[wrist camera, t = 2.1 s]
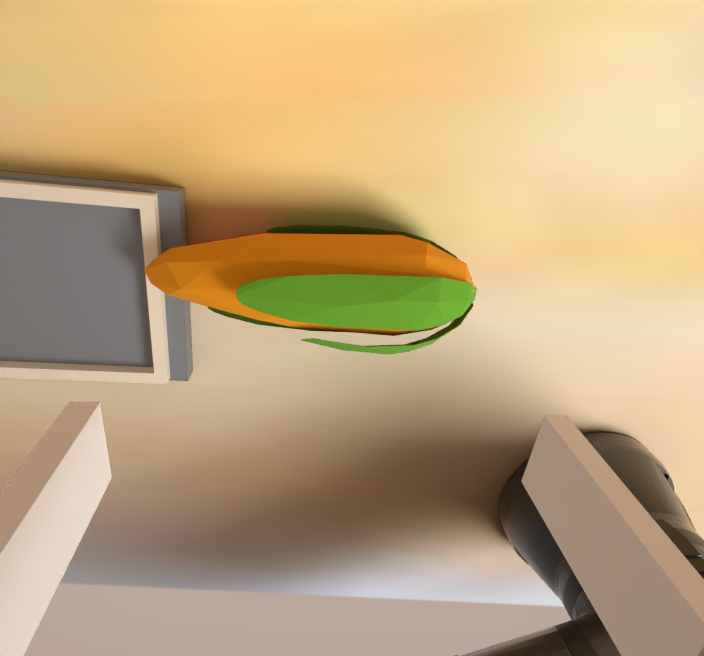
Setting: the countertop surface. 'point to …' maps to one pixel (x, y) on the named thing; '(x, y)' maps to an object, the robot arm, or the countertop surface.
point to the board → (89, 281)
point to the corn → (324, 282)
